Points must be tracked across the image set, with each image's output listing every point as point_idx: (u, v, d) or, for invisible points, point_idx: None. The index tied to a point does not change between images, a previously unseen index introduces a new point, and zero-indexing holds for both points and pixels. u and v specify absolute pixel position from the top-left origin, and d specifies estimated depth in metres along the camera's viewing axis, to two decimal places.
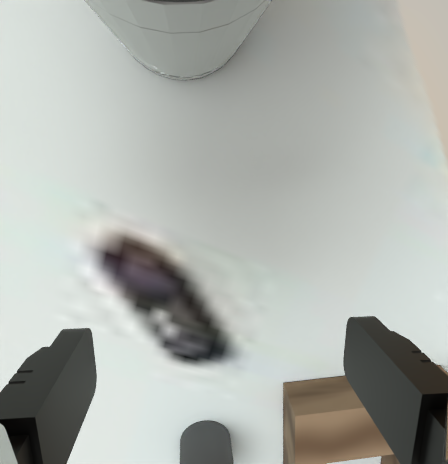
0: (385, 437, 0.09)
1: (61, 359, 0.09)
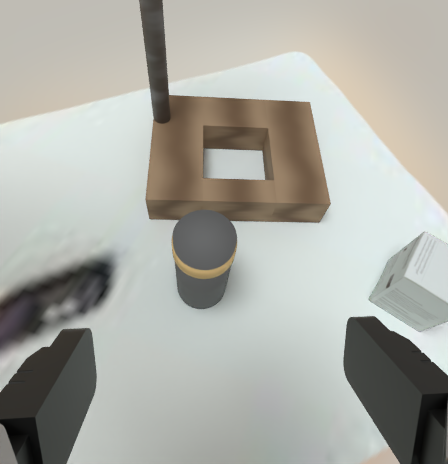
0: (386, 436, 0.09)
1: (61, 359, 0.09)
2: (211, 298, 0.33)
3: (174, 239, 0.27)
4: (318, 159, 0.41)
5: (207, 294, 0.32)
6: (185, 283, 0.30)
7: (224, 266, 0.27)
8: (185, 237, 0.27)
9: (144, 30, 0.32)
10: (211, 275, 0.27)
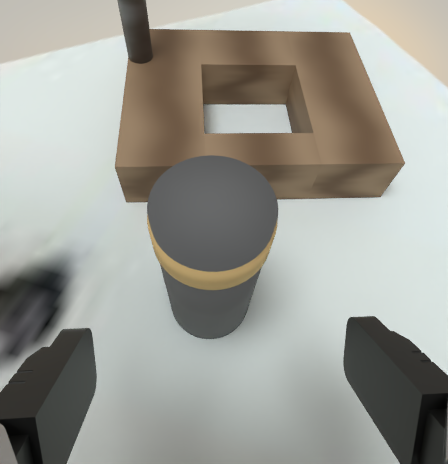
0: (386, 436, 0.09)
1: (61, 359, 0.09)
2: (229, 322, 0.19)
3: (151, 211, 0.13)
4: (375, 103, 0.28)
5: (221, 316, 0.18)
6: (181, 299, 0.17)
7: (256, 262, 0.13)
8: (173, 206, 0.13)
9: None
10: (230, 281, 0.14)
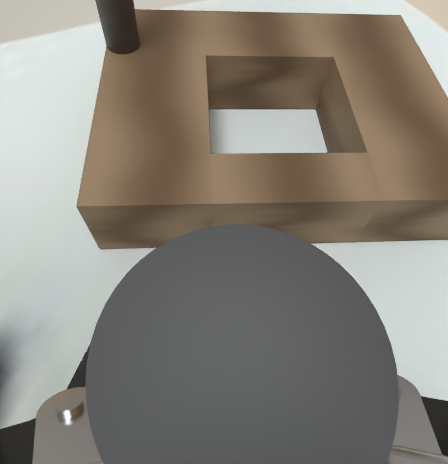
0: None
1: None
2: None
3: (95, 380, 0.05)
4: None
5: None
6: None
7: None
8: (149, 362, 0.06)
9: None
10: None
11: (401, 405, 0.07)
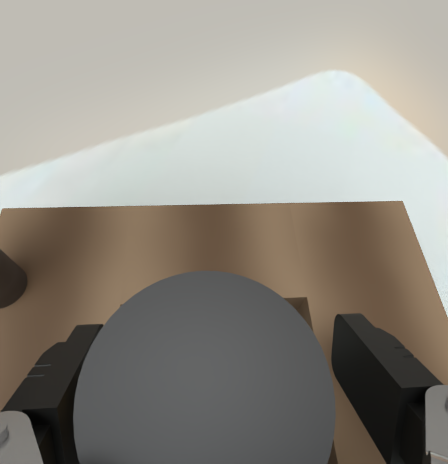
0: (369, 430, 0.09)
1: (77, 353, 0.09)
2: None
3: (81, 412, 0.06)
4: None
5: None
6: None
7: None
8: (127, 397, 0.07)
9: None
10: None
11: None
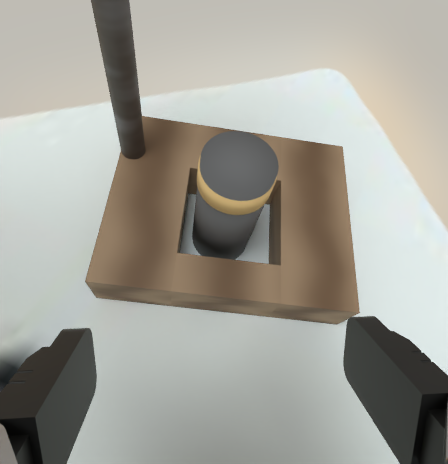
0: (385, 437, 0.09)
1: (61, 359, 0.09)
2: (233, 248, 0.28)
3: (202, 159, 0.22)
4: (348, 237, 0.29)
5: (229, 240, 0.27)
6: (206, 223, 0.25)
7: (260, 200, 0.22)
8: (216, 158, 0.22)
9: (97, 28, 0.20)
10: (243, 209, 0.22)
11: None
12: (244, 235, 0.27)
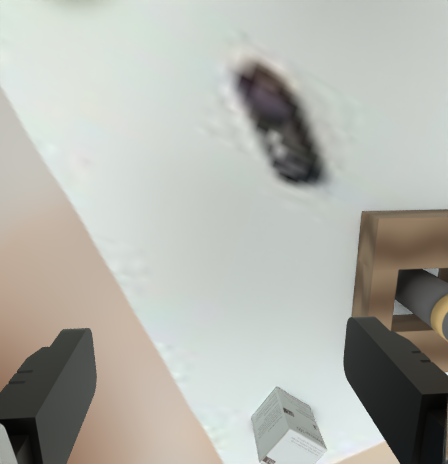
0: (386, 437, 0.09)
1: (61, 359, 0.09)
2: (400, 299, 0.42)
3: None
4: None
5: (407, 301, 0.40)
6: (421, 291, 0.38)
7: (442, 336, 0.35)
8: None
9: None
10: (435, 324, 0.36)
11: None
12: (411, 311, 0.40)
